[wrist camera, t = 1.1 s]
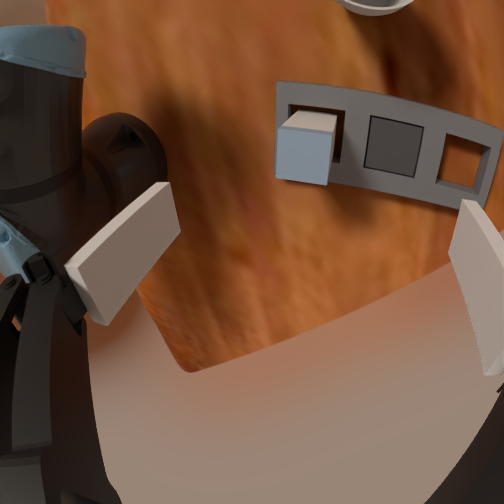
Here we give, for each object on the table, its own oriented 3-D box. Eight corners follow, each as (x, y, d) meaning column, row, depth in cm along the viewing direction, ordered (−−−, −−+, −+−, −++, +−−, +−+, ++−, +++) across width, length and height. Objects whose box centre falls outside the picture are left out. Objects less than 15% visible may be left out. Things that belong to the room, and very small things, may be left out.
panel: (277, 167, 34) (273, 174, 32) (281, 80, 28) (276, 81, 26) (475, 207, 28) (480, 215, 26) (496, 127, 22) (504, 131, 21)
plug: (297, 144, 31) (275, 178, 24) (299, 109, 29) (277, 128, 21) (333, 149, 30) (326, 185, 23) (337, 114, 28) (332, 135, 20)
